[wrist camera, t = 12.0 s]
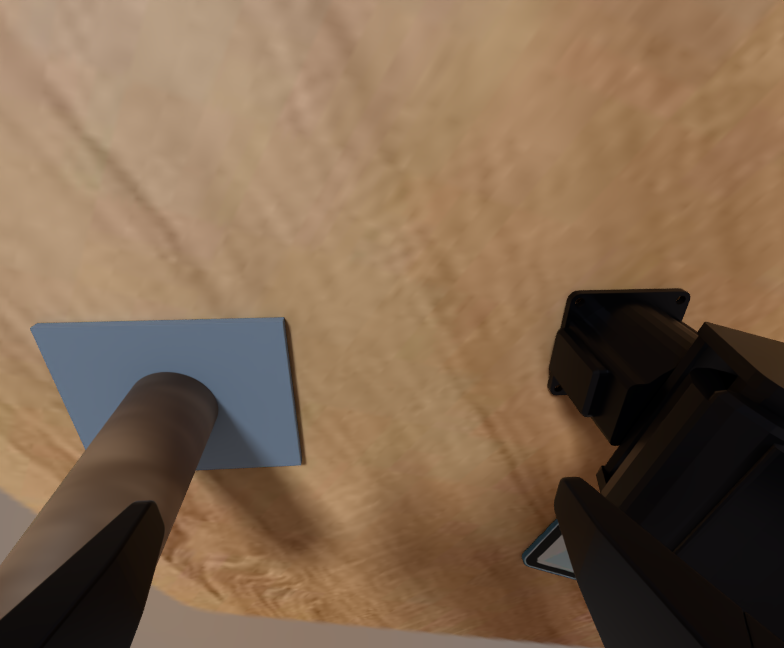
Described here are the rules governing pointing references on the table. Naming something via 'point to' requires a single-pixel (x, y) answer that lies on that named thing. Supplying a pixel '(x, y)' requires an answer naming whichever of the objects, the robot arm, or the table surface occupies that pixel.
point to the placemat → (189, 357)
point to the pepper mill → (117, 477)
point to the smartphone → (549, 553)
